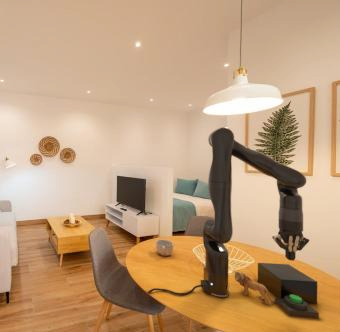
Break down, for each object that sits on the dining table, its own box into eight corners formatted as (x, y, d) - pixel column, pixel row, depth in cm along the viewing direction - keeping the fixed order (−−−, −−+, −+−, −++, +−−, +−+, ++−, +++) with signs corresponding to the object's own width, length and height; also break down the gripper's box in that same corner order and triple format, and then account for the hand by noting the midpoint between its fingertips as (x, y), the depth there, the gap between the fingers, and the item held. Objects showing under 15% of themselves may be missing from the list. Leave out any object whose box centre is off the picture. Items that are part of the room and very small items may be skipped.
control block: (289, 315, 83) (289, 305, 83) (274, 302, 91) (274, 293, 90) (318, 318, 81) (318, 308, 81) (301, 304, 89) (301, 295, 89)
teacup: (159, 249, 147) (159, 237, 147) (175, 253, 141) (175, 241, 141) (152, 256, 136) (152, 244, 136) (169, 261, 130) (169, 247, 130)
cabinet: (257, 281, 107) (257, 262, 107) (288, 283, 105) (288, 264, 105) (280, 301, 91) (281, 279, 91) (317, 304, 89) (317, 281, 89)
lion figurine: (232, 291, 99) (232, 271, 99) (236, 287, 102) (236, 268, 102) (273, 307, 87) (274, 286, 87) (276, 302, 91) (276, 281, 91)
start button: (294, 303, 84) (294, 299, 84) (287, 298, 88) (287, 294, 88) (304, 304, 84) (304, 300, 84) (296, 299, 87) (297, 294, 87)
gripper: (300, 216, 92) (300, 256, 92) (267, 216, 94) (266, 255, 94) (316, 221, 85) (316, 264, 85) (279, 220, 86) (279, 262, 86)
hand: (290, 259), depth 89 cm, fingers closed
